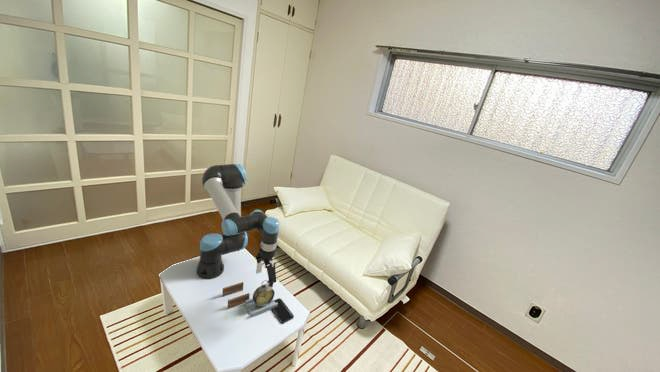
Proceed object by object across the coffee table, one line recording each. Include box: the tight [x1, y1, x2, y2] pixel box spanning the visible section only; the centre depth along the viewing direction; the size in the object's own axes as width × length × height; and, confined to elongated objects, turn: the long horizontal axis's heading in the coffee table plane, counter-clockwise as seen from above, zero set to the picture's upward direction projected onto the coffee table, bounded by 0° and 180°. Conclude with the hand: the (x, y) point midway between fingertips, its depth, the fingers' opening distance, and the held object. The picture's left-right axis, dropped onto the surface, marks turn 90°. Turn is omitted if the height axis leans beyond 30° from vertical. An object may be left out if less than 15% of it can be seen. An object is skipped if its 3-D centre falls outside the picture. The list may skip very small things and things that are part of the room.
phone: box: [270, 297, 295, 324], centre depth 142 cm, size 8×1×15 cm
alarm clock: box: [252, 279, 275, 308], centre depth 141 cm, size 11×5×16 cm, turn 128°
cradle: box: [244, 297, 278, 318], centre depth 143 cm, size 10×14×2 cm, turn 128°
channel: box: [221, 281, 251, 310], centre depth 144 cm, size 10×11×5 cm
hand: (263, 281), depth 138 cm, fingers open, 13 cm apart
